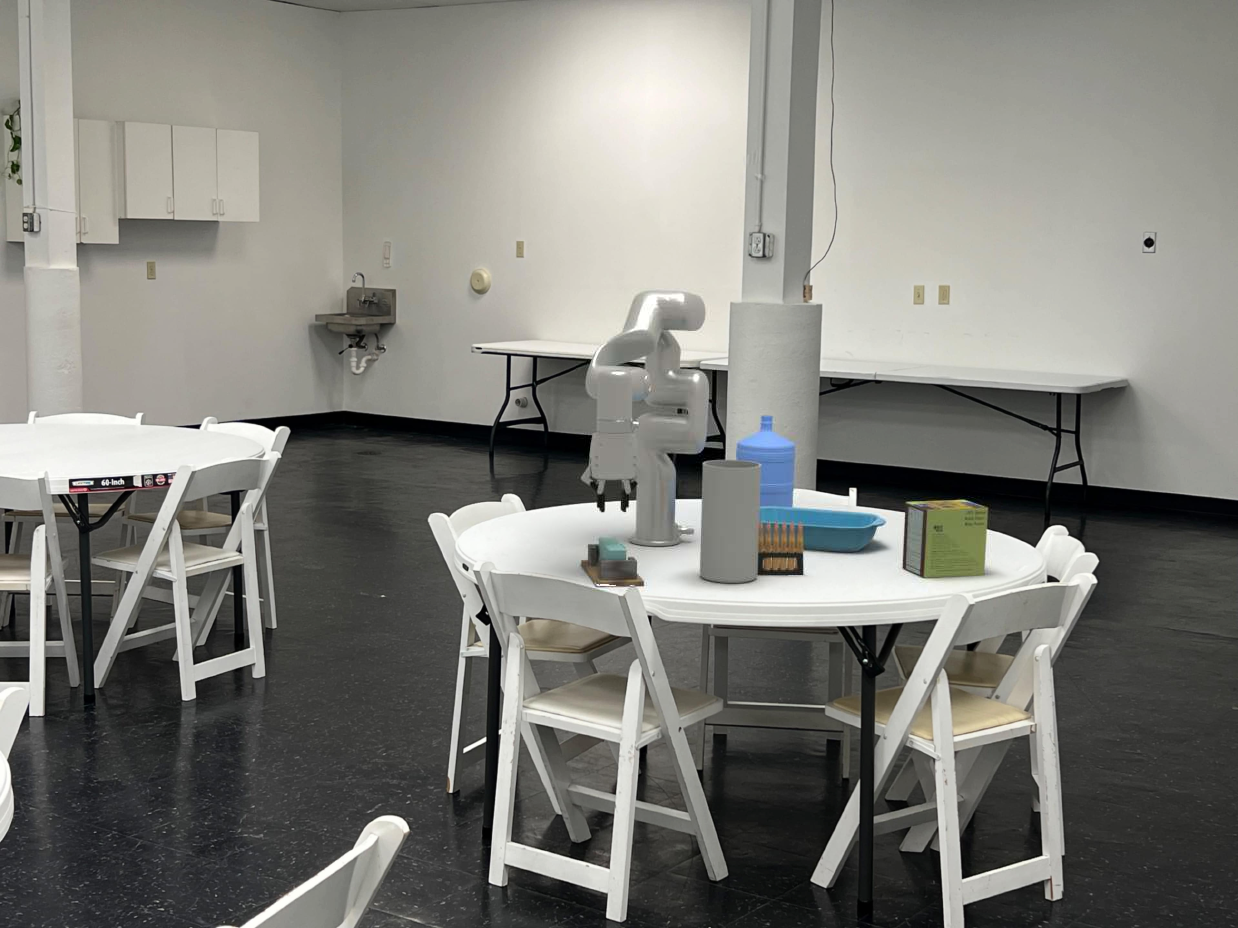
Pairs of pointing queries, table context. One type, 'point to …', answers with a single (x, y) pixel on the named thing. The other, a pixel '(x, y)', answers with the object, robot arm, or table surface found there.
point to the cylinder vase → (730, 521)
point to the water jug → (771, 463)
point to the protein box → (945, 538)
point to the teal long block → (611, 549)
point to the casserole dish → (824, 527)
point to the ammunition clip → (782, 559)
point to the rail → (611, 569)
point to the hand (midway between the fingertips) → (612, 510)
